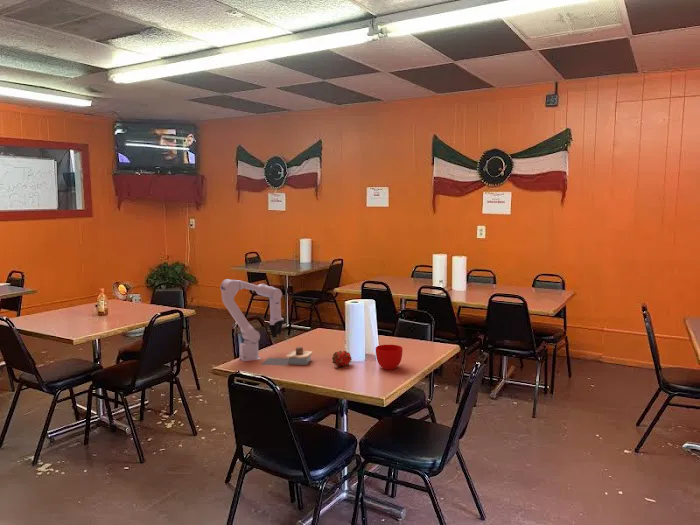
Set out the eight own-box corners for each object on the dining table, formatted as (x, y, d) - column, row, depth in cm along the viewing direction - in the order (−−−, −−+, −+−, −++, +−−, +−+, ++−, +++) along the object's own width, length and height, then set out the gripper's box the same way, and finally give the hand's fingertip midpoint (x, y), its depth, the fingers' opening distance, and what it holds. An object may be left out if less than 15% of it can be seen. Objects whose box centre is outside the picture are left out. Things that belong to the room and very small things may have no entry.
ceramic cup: (410, 364, 269) (410, 344, 268) (395, 373, 254) (395, 352, 253) (386, 361, 275) (386, 341, 274) (370, 369, 261) (370, 349, 260)
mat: (260, 365, 270) (260, 364, 270) (268, 358, 283) (268, 357, 283) (286, 366, 268) (285, 365, 268) (292, 359, 281) (292, 358, 281)
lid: (285, 357, 269) (285, 350, 268) (291, 352, 279) (291, 345, 279) (307, 358, 267) (307, 350, 267) (312, 352, 278) (312, 345, 277)
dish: (288, 365, 270) (288, 357, 269) (293, 360, 279) (293, 352, 278) (306, 365, 268) (306, 357, 268) (310, 361, 277) (310, 353, 277)
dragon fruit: (331, 371, 263) (348, 370, 272) (341, 363, 259) (359, 362, 267) (325, 355, 267) (343, 354, 276) (336, 347, 262) (353, 347, 271)
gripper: (278, 312, 281) (280, 338, 282) (286, 307, 295) (287, 332, 296) (265, 313, 282) (266, 338, 283) (273, 307, 296) (275, 332, 297)
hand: (276, 335), depth 290 cm, fingers open, 7 cm apart
